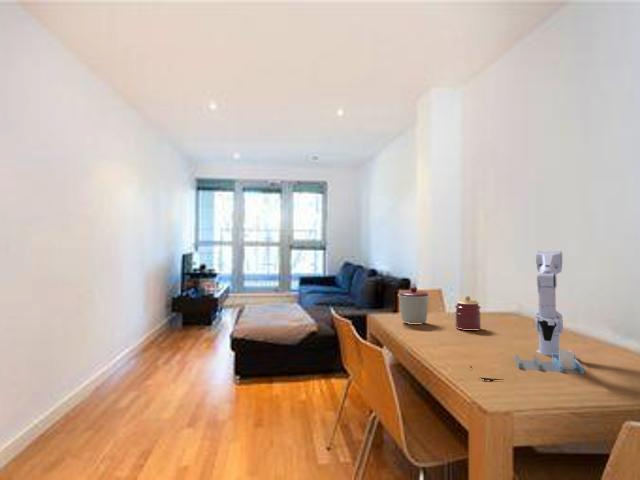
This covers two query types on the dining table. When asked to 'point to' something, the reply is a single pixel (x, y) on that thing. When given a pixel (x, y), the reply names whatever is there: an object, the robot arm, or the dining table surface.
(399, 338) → the dining table surface
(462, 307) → the canister
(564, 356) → the block
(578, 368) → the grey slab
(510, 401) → the dining table surface
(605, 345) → the dining table surface
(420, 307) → the canister
